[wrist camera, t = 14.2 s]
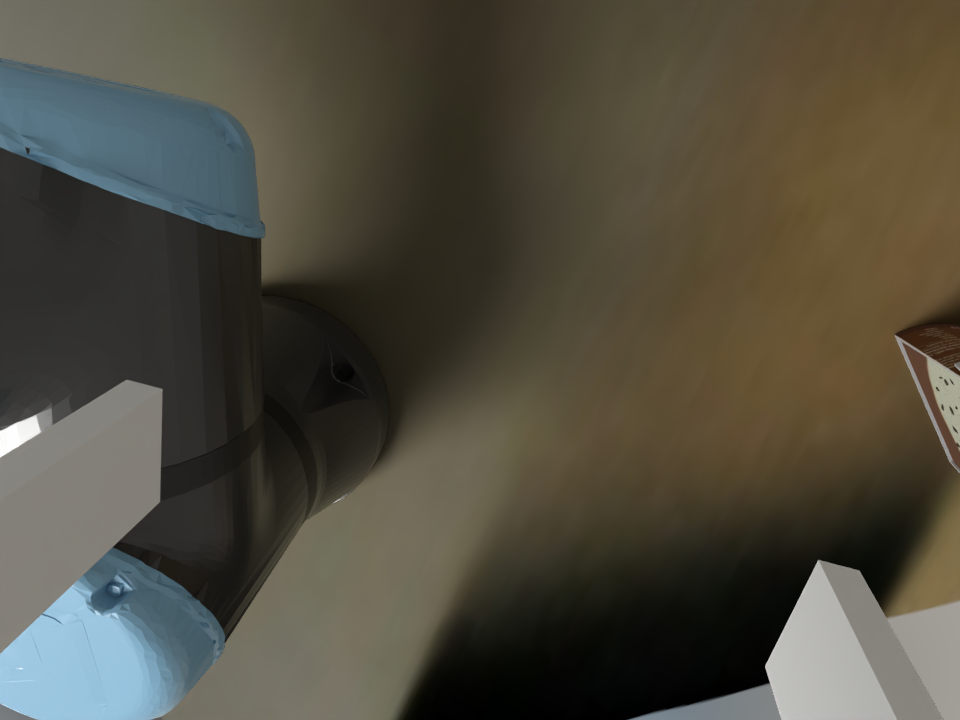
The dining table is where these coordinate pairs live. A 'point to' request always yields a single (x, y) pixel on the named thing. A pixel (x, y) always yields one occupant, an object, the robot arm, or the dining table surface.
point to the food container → (937, 378)
